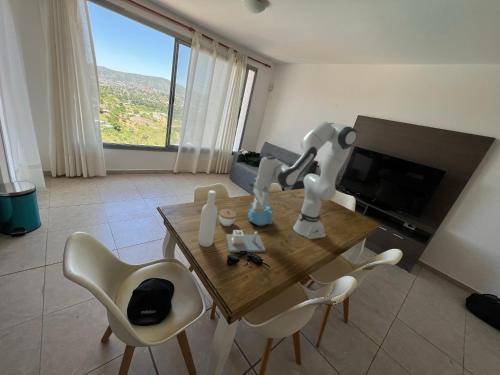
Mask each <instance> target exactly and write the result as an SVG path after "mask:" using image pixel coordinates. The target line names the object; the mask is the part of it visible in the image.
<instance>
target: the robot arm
mask: <svg viewBox="0 0 500 375" xmlns="http://www.w3.org/2000/svg"><path fill="white" fill-rule="evenodd" d="M357 136H358V132H357V130H356V129H355V128H354V127H352V126H347V125H345V124H342V123H340V124H339V123H334V122H329V121H322V122H320V123H318V124H316V125H315V126H314V127H313V128H311V129H310V130H309V131H308V132H307V133H305V135H303V137H301V138H302V139H301V140H300V148H301V150H302V155H301V156H300V157H299V158H298V159H297V160H296V162H295V163H294V164H293V165H292V166H291V167H290V166H288V165H287V164H285V163H284V162H282V161H281V160H279V159H277V157H276V156H274V155H264V156H263V157H262V158H261V160H260V162H259V166H258V170H257V171H258V174H257V176H256V177H254V178H253V187H252V191H253V194H254V195H255V198H257V199H258V200H259V202H260V205H259V206H258V208H259V209H262V206H264V207H267V206H268V205H270V204H269V203H270V199H271V193H270V190H271V186H272V182H273V180H276V181H277V182H278V183H279V184H280V186H281V187H283V188H286V189H287V188H291V187H293V186H294V185H296V183H297V182H298V180H299V179H300V177H301V175H302V174H303V173H304V171H306V169H307V168H308V167H309V166H310V165H311V163H312V162H313V161H314V160H315V159H316V157H317V155H318V152H319V151H320V150H321V148H322V147H324V145H325V144H326V143H327V142H329V143H331V144H332V145H331V147H330V149H329V151H328V153H327V154H326V155H325V157H324V158H323V161H322V163H321V164H320V175H318V174H315V173H307V174H306V175H305V176H304V178H303V181H302V182H303V186H304V200H303V204H302V206H301V209H300V211H299V215H298V218H297V221H296V222H295V224H294V225H293V227H292V228H293V230H294V232H295V233H297V234H298V235H300V236H302V237H305V238H307V239H308V240H313V239H319V238H321V239H322V238H326V236H327V234H326V232H325V231H324V230H325V229H324V228H325V227H324V225H323V223H322V222H321V221H322V220H323V217H322V216H321V215H319V214H320V211H321V208H322V202H321V200H324V201H330V200H333V198H334V197H335V195H336V191H337V190H336V180H337V176H338V173H339V172H340V171H341V169H342V167H343V165H344V164H345V162H346V160H347V158H348V157H349V154H350V152H351V147H352V145H353V144H355V141H356V140H357Z"/></svg>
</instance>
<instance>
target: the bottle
mask: <svg viewBox="0 0 500 375" xmlns="http://www.w3.org/2000/svg"><path fill="white" fill-rule="evenodd" d="M216 197H217V192H216V191H215V190H212V189H211V190H209V191H208V193H207V202H206V204H204V205H203V207H202V209H201V215H200V224H199V232H198V239H197V243H198V245H200V246H201V247H206V248H207V247H211V246H212V245H213V243H214V237H215V230H216V224H217V218H218V217H217V216H218V207H217V206H216V204H215V203H216V202H215V201H216Z"/></svg>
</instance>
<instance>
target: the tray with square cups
mask: <svg viewBox="0 0 500 375" xmlns="http://www.w3.org/2000/svg"><path fill="white" fill-rule="evenodd" d="M258 233H259V232H258V231H254V233H253V234H251V233H250V234H249V233H248V234H244V233H243V234H244V238H243V245H232V241H231V237H232V234H233V233H229V234H228V233H226V234H225V238H226V239H225V240H226V242H227V248H228V251H229V252H228V253H241V252H240V251H247V252H246V253H265V252H266V247H265V245H264V243H263V240H262V239H261V237H260V235H259V234H258ZM237 235H240V231H237Z"/></svg>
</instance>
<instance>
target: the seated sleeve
mask: <svg viewBox="0 0 500 375" xmlns="http://www.w3.org/2000/svg"><path fill="white" fill-rule="evenodd" d="M237 231H240V235H237ZM231 234H232V237H231V241H232V245H243V238H244V232H243V230H242V229H233V230H232V233H231Z"/></svg>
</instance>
